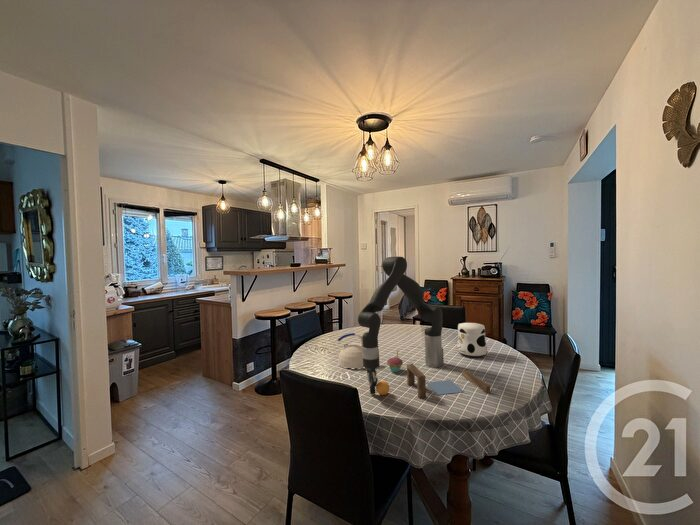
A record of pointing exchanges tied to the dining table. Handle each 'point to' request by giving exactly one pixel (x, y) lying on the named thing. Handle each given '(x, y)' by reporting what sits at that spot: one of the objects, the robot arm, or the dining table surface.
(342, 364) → the kettle
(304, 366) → the dining table surface
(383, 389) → the ball
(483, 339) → the milk container
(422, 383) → the bridge
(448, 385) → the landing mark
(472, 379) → the wall
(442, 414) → the dining table surface
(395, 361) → the cupcake
